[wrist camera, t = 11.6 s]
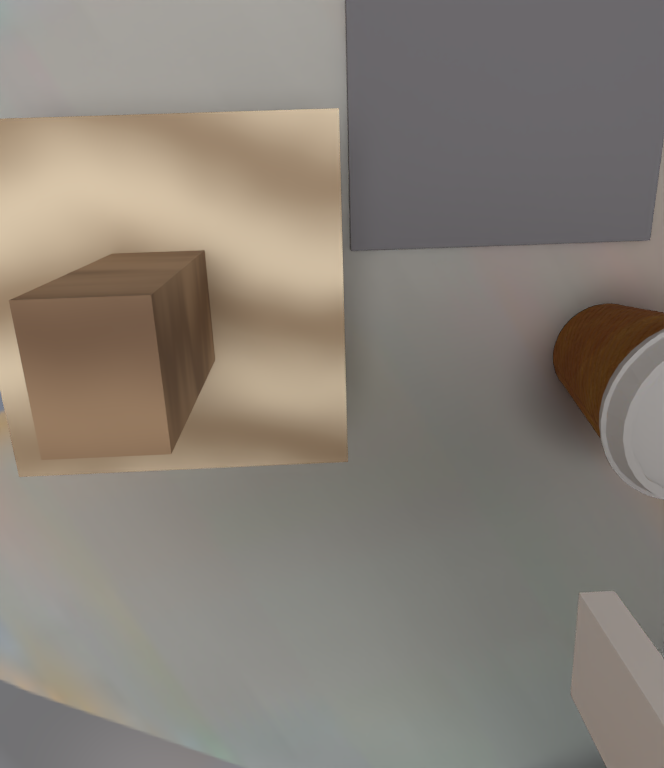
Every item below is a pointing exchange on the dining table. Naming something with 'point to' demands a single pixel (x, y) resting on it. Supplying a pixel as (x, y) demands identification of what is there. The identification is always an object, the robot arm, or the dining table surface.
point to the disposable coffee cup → (619, 386)
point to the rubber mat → (503, 121)
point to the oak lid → (172, 291)
